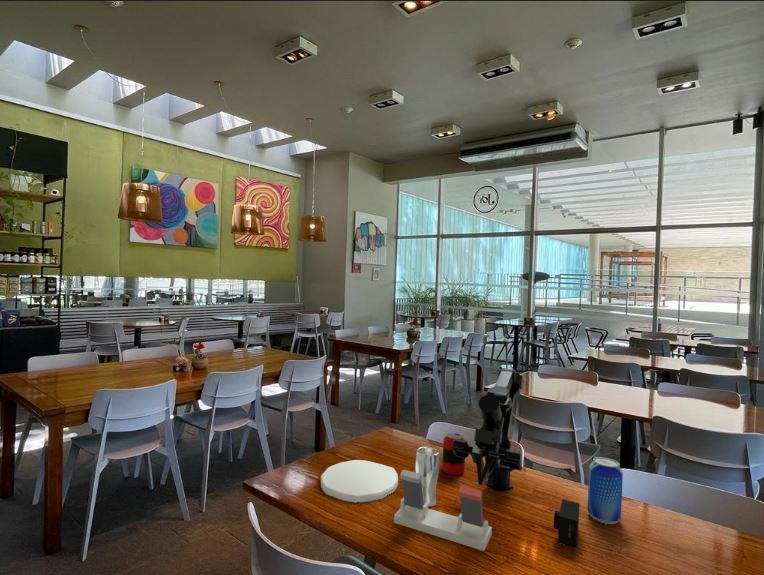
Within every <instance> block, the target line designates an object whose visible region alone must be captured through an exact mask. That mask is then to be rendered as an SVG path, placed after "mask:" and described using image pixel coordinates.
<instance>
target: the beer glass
mask: <svg viewBox="0 0 764 575" xmlns="http://www.w3.org/2000/svg"><path fill="white" fill-rule="evenodd" d="M415 454H416V456H415V464H414V466H415V467H414V468H415V473H419V474H421V475H422V479H421V483H422V492H423V501H424V505H425V503H426V504H428V508H432V507H434V506H436V504H437V496H436V487H437V482H438V478H439V472H440V450H438V449H437V448H435V447H431V446H422V447H418V448H417V449H416V453H415Z"/></svg>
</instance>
